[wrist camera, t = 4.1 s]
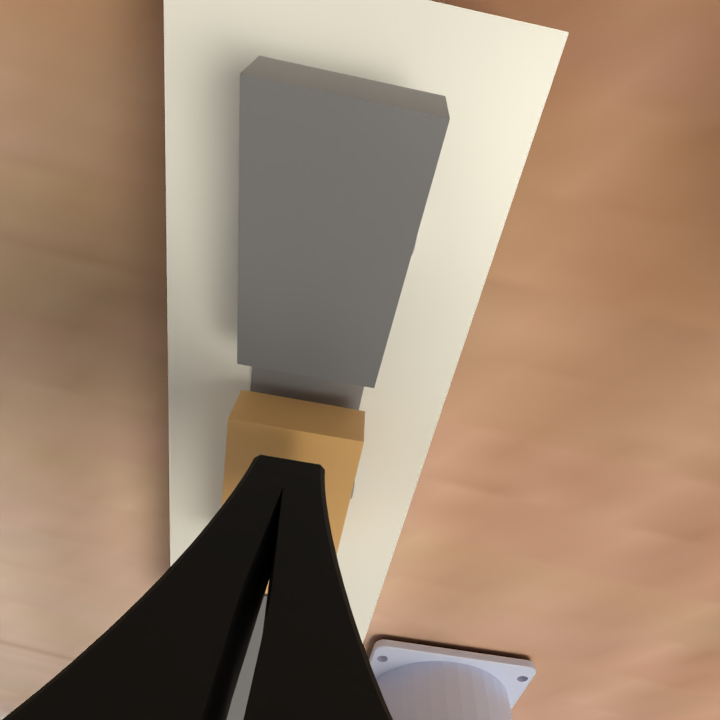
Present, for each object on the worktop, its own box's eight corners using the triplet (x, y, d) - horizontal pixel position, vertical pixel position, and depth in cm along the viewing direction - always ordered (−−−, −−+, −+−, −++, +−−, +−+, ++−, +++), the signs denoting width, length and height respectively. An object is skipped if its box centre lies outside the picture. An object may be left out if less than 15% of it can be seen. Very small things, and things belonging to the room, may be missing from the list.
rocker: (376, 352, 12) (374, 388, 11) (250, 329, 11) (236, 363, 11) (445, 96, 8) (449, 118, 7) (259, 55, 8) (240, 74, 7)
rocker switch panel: (353, 603, 23) (347, 706, 19) (199, 580, 22) (163, 681, 18) (634, -342, 9) (819, -645, 5) (237, -454, 8) (121, -877, 5)
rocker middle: (328, 565, 15) (325, 602, 13) (227, 549, 14) (215, 586, 13) (364, 411, 12) (364, 442, 11) (241, 389, 12) (227, 418, 11)
